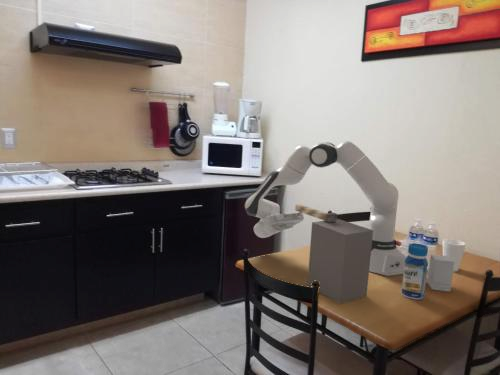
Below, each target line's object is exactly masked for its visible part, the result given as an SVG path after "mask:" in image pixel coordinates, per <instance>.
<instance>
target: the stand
mask: <svg viewBox="0 0 500 375" xmlns="http://www.w3.org/2000/svg"><path fill="white" fill-rule="evenodd" d="M372 237H373V230H371V229H369V227H368V228H367V227H364V226H361V225H358V224H355V223H352V222H350V221H346V220H343V219H340V218H337V222H331V223H328V222H325V221H324V220H320V221H314V222H313V221H312V222H311V233H310V246H309V247H310V248H309V257H308V258H309V259H308V275H307V286H308V287H310V286H312V285H311V283H312V282H313V281H314V280H318V281H319V282H320V288H319V292H318V293H320V294H322V293H323V294H324V296H325V295H326V296H325V297H327V296H328V297H327V298H329V299H330V298H331V299H330V300H332V301H334V302H336V303H337V304H339V305H341V304H345V303H348V302H351V301H355V300H358V299H362V298H365V297H367V294H368V286H369V285H368V284H369V275H370V274H369V273H370V271H369V267H370V257H371V247H372ZM323 294H322V295H323ZM344 302H345V303H344Z"/></svg>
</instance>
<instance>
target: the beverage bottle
mask: <svg viewBox="0 0 500 375" xmlns="http://www.w3.org/2000/svg"><path fill="white" fill-rule="evenodd" d="M428 250H429V247H428V246H427V245H424V244H421V243H409V245H408V248H407V253H408V255H407V256H406V257H407V258H406V259H405V265H404V274H402V284H401V285H402V286H401V290H400V291H401V292H400V293H401V294H402V296H403V297H405V298H408V299H411V300H422V299H423V298H424V297H425V289H426V284H427V281H426V280H427V277H428V272H429V269H428V267H429V263H428V259H427V258H426V257H427V255H428V252H429V251H428Z"/></svg>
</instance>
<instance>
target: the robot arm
mask: <svg viewBox="0 0 500 375" xmlns="http://www.w3.org/2000/svg"><path fill="white" fill-rule="evenodd" d="M335 163H337V164H338V165H340V166H341V167H342V168H343V170H345V171H346V173H347V174H348V175H349V176H350V178H352V180H353V181H354V182H355V183H356V184H357V186H358V187H359V189H360V190H361V191H362V193H364V196H365V197H366V198H367V199H368V200H369V202H370V204H371V208H370V215H369V225H368V229H371V230H373V237H372V247H371V257H370V267H369V273H370V272H371V273H373V274H379V275H383V276H386V277H391V276H399V275H403V274H404V265H405V259H406V258H407V256H406V254H404V253H403V252H402V251H401V250H400V249H398V248H397V247H401V246H402V242H401V241H400V240H396V239H395V231H396V222H397V221H396V220H397V214H398V213H397V211H398V202H399V190H398V188H397V187H396V185H394V183H391V182H388V180H387V179H386V178H385V177H384V175H383V174H382V173H381V170H379V168H378V167H377V166H376V165H375V164H374V162H372V160H371V159H370V158H369V157H368V156H367V155H366V154H365V153H364V152H363V151H362V150H361V149H360V148H359V147H358V146H357V145H356V144H354V143H353V142H352V141H348V140H346V141H343V142H341V143H340V144H338V145H335V144H333V143H331V142H329V141H328V142H327V141H326V142H319V143H318V144H315V145H314V146H312V147H311V148H310V147H308V146H305V145H298V146H297V147H295V149H294V150H292V152H291V154H290V155H289V156H288V157H287V159H286V161H285V162H284V164H283V165H281V167H280V168H278V169H274V170H272V171H271V172H270V173H269V174H268V176H267V177H265V179H264V180H263V181H262V182H261V184H260V185H259V186H258V187H257V188H256V190H255V191H254V192H253V193H252V194H251V195H249V197H247V199H246V200H245V202H244V209H245V212H246V214H247V215H248V216H251V217H256V218H259V219H260V220H259V221H258V222H257V223H256V224H255V225H254V226H253V232H254V234H255V235H256V237H258V238H261V239H265V238H269V237H271V236H273V235H275V234H278V233H280V232H283V231H285V230H287V229H292V228H294V226H295V225H298V224H300V223H301V222H303V221H304V220H305V219H304V213H301V212H293V213H282V209H281V206H280V205H279V203H276V202H274V201H271V200H269V199H267V198H266V196H267V194H268V193H269V192H270V191H271V190H272V188H274V187H276V186H293V185H296V184H299V183H300V182H301V181H302V180H303V179H304V177H305V175H306V173H307V172H308V171H309V169H310V168H311V167H312V166H313V167H316V168H325V167H329V166H331V165H333V164H335ZM264 197H265V198H266V199H265V198H264Z"/></svg>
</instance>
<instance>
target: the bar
mask: <svg viewBox="0 0 500 375" xmlns="http://www.w3.org/2000/svg"><path fill="white" fill-rule="evenodd" d="M294 207H295V209H294V210H295V211H296V212H297V213H299V212H301V213H302V214H303V215H304V214H305V215H307V216H310V217H314V218H317V219H319V220H321V221H325V222H328V223H331V222H337V219H338V213H336V212H328V213H327V212H324V211H322V210H321V211H320V210H318V209H316V208H315V209H314V208H312V207H308V206H306V205H302V204H295V206H294Z"/></svg>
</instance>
